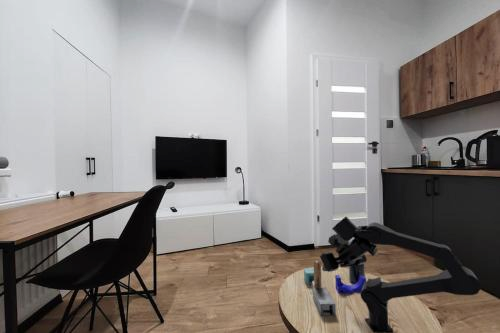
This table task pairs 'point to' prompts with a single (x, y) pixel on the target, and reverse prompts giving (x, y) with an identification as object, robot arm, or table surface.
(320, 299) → the gray rectangular tube
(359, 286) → the cable clip
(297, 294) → the table surface
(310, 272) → the teal block with slot
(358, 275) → the supplement bottle
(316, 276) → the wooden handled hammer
